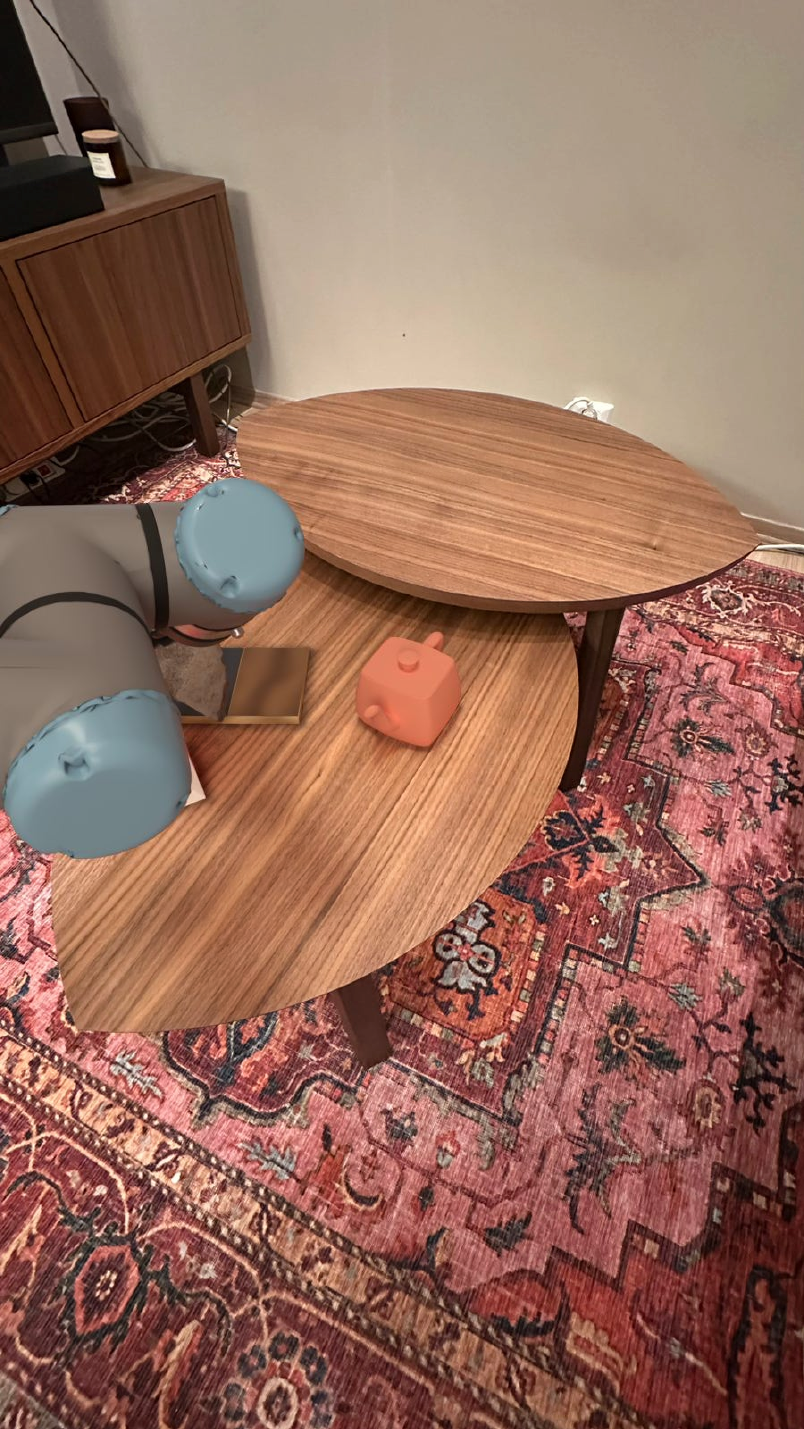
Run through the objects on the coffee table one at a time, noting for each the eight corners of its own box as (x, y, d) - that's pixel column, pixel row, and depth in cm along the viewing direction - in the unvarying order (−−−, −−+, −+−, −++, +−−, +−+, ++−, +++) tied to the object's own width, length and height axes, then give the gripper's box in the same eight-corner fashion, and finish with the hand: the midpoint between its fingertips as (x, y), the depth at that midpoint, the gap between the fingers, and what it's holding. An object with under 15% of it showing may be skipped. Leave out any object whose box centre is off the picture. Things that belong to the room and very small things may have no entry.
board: (159, 723, 87) (156, 716, 86) (182, 653, 96) (179, 645, 95) (299, 724, 87) (298, 717, 86) (310, 653, 96) (309, 646, 94)
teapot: (476, 689, 91) (482, 630, 83) (410, 787, 80) (409, 730, 72) (401, 660, 94) (400, 601, 87) (329, 750, 84) (320, 692, 76)
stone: (133, 645, 78) (88, 646, 68) (172, 580, 77) (132, 572, 67) (242, 718, 79) (213, 730, 69) (282, 655, 77) (259, 657, 67)
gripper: (105, 696, 49) (96, 713, 70) (334, 585, 57) (265, 630, 78) (50, 602, 48) (57, 648, 69) (291, 502, 56) (233, 570, 77)
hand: (168, 638), depth 73 cm, fingers closed on stone, 7 cm apart
